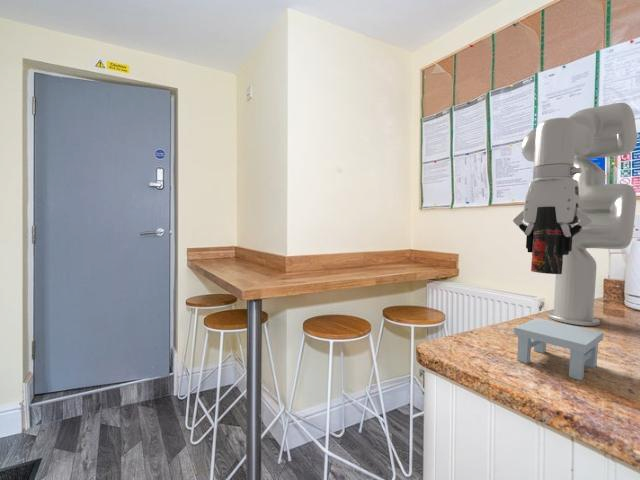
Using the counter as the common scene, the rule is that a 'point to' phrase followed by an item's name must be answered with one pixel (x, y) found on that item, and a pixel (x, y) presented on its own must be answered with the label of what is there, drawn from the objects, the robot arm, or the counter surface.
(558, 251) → the deodorant
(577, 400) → the counter surface
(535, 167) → the robot arm
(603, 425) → the counter surface
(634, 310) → the counter surface
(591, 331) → the pale blue square tabletop
